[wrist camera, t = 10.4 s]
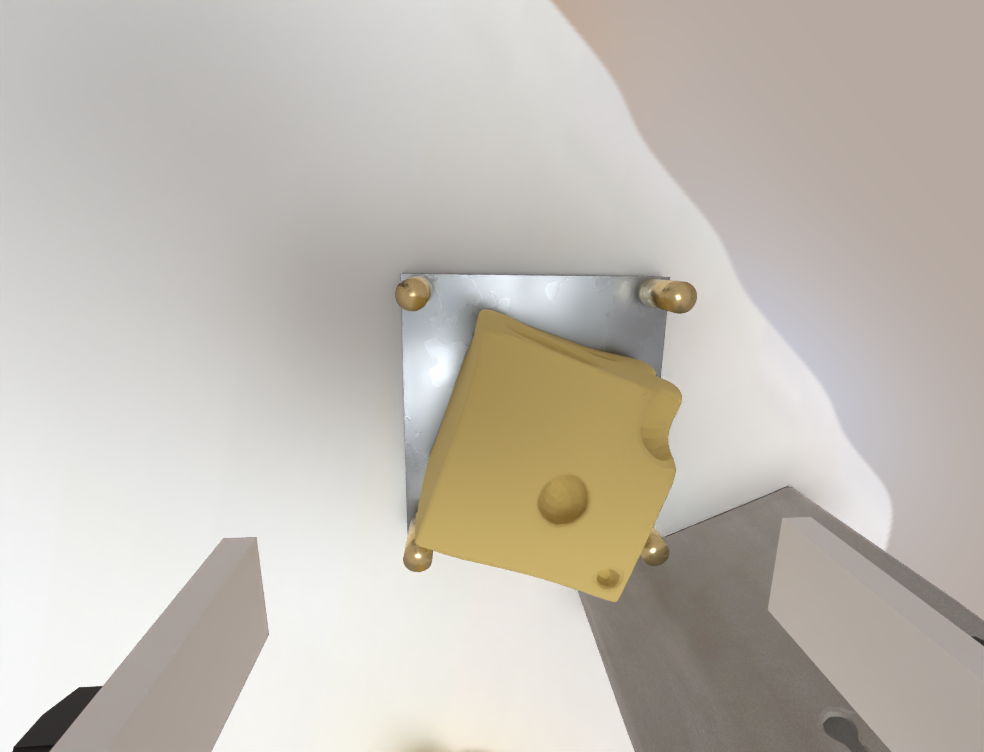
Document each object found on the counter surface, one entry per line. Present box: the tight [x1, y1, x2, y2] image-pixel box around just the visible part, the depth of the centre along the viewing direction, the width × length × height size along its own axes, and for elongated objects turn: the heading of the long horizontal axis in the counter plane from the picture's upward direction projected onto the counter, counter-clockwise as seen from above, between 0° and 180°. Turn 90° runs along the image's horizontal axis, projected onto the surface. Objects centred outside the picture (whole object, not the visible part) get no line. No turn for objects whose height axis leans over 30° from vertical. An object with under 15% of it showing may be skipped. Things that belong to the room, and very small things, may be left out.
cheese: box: [415, 309, 682, 602], centre depth 25 cm, size 10×11×10 cm
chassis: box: [395, 273, 697, 572], centre depth 29 cm, size 16×16×5 cm
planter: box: [578, 487, 984, 752], centre depth 26 cm, size 16×8×19 cm, turn 113°
